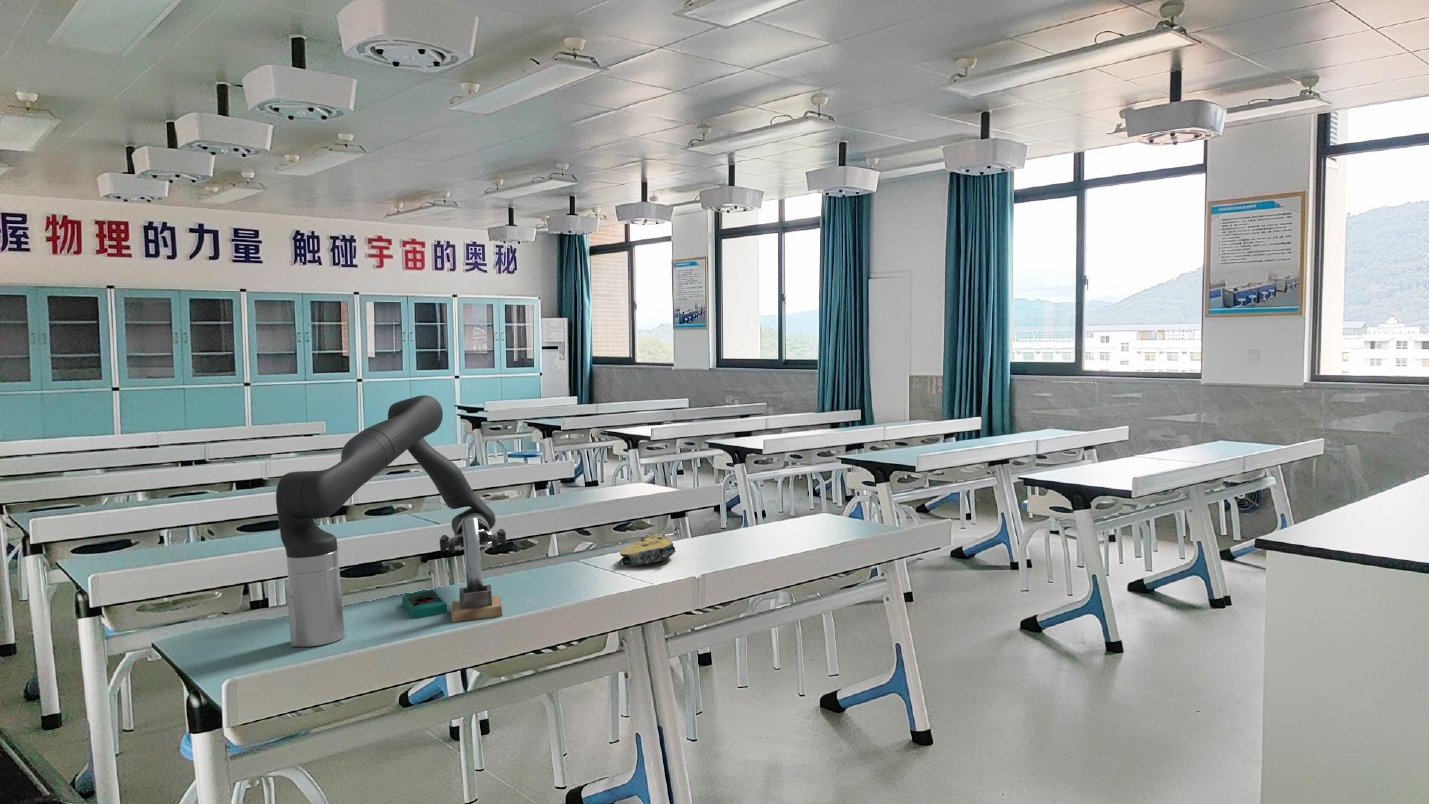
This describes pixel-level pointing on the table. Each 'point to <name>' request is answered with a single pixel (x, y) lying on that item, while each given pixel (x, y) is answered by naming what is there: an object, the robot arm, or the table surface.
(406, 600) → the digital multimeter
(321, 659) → the table surface
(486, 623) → the table surface
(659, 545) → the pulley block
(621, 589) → the table surface
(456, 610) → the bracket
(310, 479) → the robot arm
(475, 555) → the rod
